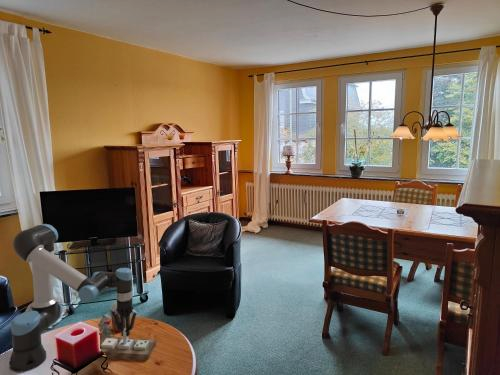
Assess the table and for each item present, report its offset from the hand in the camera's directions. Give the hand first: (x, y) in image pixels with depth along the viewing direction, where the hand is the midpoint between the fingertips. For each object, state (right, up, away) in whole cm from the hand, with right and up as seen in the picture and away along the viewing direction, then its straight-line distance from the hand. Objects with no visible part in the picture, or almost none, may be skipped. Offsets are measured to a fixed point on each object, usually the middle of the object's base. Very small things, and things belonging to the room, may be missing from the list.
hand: (125, 341), depth 175 cm
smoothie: (-11, -2, +20) cm, 23 cm away
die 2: (0, -5, +1) cm, 5 cm away
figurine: (-15, -3, +11) cm, 19 cm away
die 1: (-9, -5, +1) cm, 10 cm away
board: (0, -5, +1) cm, 5 cm away
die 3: (+8, -5, 0) cm, 10 cm away
